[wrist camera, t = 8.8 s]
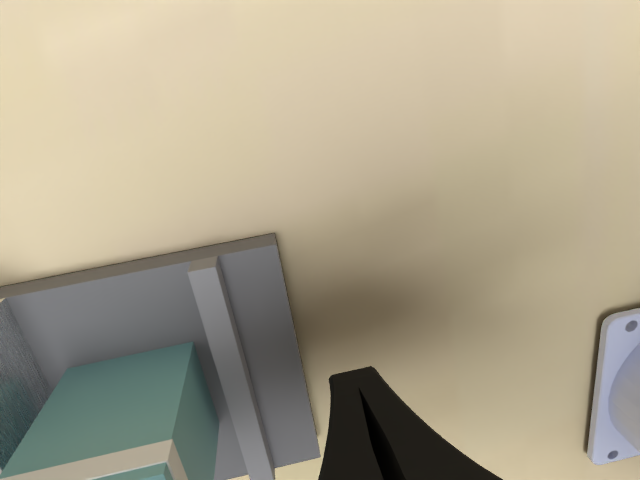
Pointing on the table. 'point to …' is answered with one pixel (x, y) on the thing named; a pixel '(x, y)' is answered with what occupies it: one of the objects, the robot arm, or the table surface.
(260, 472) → the grey stand with lip
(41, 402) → the rail
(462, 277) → the table surface
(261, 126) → the table surface
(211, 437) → the block
